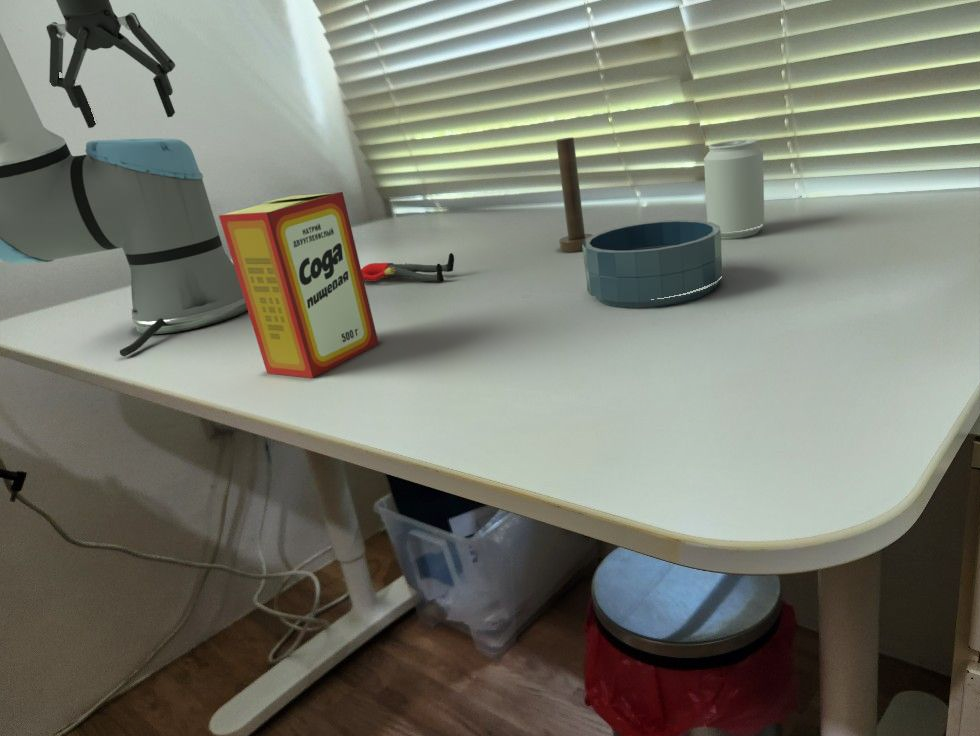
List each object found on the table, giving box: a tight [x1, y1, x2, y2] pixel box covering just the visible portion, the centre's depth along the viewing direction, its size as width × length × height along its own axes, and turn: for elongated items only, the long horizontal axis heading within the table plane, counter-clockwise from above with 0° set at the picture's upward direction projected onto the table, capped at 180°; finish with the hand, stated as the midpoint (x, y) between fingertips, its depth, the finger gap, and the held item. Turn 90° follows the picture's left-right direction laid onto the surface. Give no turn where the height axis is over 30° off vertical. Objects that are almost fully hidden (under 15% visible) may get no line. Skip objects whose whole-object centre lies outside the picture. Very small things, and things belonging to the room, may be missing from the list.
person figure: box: [361, 252, 455, 283], centre depth 104 cm, size 5×4×18 cm
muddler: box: [555, 136, 594, 253], centre depth 105 cm, size 5×5×15 cm
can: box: [703, 138, 765, 240], centre depth 100 cm, size 8×8×12 cm
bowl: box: [582, 219, 724, 309], centre depth 82 cm, size 15×15×6 cm
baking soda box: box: [218, 191, 380, 379], centre depth 73 cm, size 10×6×16 cm
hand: (132, 120), depth 133 cm, fingers open, 13 cm apart
